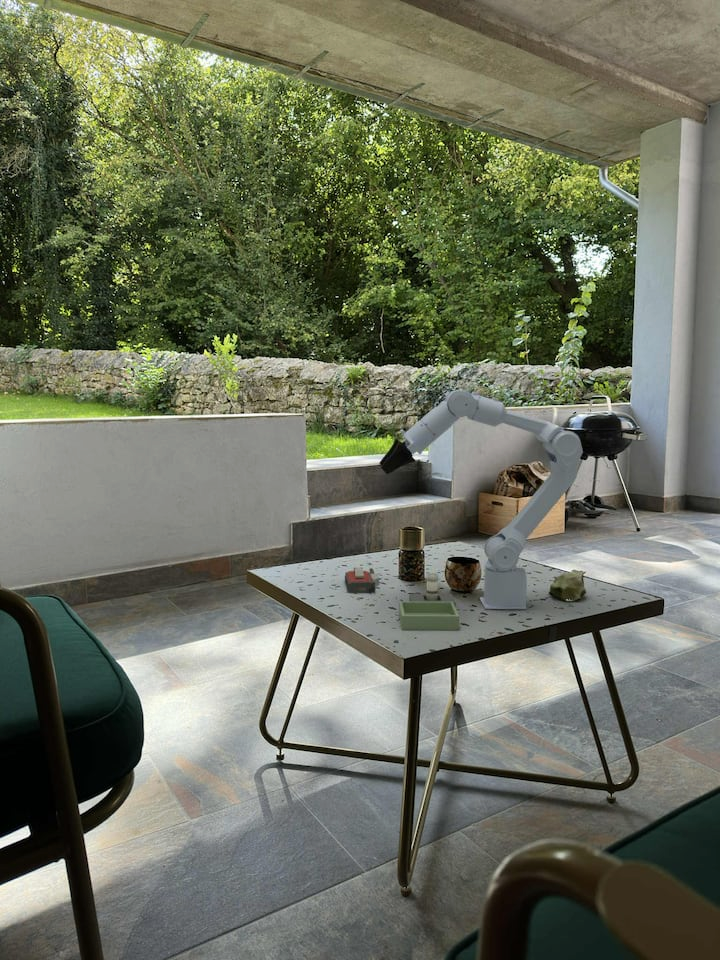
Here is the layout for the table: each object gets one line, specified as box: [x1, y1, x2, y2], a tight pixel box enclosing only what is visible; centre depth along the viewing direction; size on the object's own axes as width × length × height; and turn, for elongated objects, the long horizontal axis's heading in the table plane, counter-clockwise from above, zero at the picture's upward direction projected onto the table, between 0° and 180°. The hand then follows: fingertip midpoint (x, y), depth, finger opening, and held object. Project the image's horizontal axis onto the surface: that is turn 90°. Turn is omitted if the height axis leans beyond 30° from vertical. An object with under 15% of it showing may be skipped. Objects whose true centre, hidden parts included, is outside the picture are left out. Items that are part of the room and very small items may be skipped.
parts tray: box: [398, 601, 460, 631], centre depth 156 cm, size 12×10×3 cm
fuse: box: [425, 573, 439, 601], centre depth 167 cm, size 3×3×8 cm
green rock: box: [548, 569, 587, 601], centre depth 175 cm, size 9×9×8 cm
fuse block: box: [408, 593, 457, 609], centre depth 167 cm, size 10×7×2 cm
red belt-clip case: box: [344, 567, 380, 594], centre depth 186 cm, size 9×4×20 cm
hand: (382, 468), depth 164 cm, fingers open, 7 cm apart
